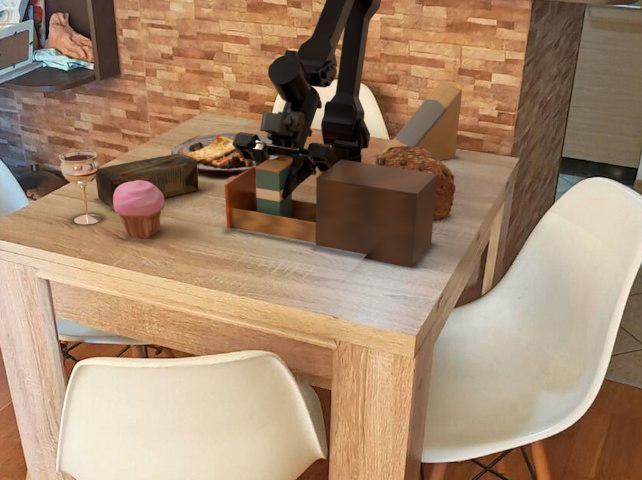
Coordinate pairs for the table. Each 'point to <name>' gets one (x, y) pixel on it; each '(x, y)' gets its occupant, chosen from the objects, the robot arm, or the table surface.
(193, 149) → the food plate
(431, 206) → the brown cupboard
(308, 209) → the drawer
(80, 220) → the wineglass
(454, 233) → the table surface
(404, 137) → the sandwich container
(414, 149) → the bread
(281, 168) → the long rectangular block
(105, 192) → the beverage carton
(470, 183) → the table surface
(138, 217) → the cupcake
